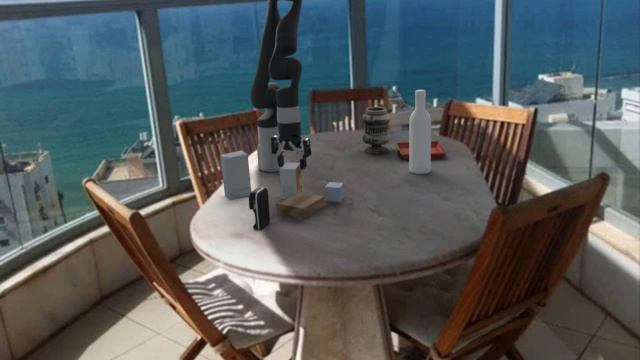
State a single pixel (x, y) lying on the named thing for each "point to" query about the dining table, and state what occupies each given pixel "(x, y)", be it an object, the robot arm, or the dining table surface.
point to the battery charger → (260, 207)
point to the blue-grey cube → (334, 192)
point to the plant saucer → (436, 149)
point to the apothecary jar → (376, 129)
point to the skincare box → (236, 174)
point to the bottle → (420, 136)
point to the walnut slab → (301, 205)
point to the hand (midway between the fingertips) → (292, 167)
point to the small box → (290, 179)
